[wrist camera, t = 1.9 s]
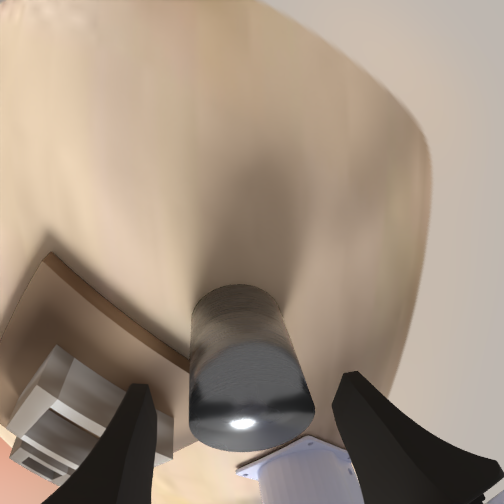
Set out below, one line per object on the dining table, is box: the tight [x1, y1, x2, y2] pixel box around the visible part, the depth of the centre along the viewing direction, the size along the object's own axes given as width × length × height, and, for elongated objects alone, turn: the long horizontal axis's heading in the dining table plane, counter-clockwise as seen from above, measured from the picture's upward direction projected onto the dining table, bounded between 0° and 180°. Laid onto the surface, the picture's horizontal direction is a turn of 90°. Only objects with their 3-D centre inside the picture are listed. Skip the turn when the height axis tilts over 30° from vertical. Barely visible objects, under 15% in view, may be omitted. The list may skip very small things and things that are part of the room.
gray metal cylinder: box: [189, 284, 315, 452], centre depth 12 cm, size 4×4×6 cm
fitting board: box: [0, 251, 199, 486], centre depth 15 cm, size 14×20×4 cm
